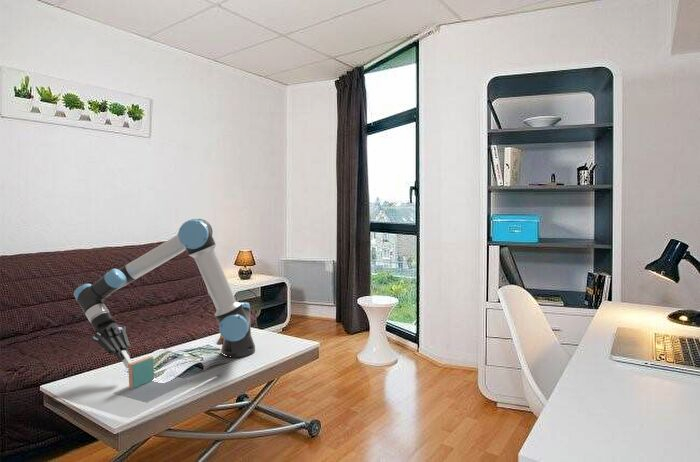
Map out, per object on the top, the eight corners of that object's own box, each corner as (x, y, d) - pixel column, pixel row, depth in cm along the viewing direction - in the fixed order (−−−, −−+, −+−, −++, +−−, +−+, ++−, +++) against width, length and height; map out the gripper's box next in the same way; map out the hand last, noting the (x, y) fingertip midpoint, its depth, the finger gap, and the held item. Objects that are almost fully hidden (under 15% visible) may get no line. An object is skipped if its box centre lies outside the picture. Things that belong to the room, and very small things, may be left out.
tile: (129, 387, 157) (128, 363, 157) (150, 378, 165) (149, 356, 165) (133, 388, 156) (132, 364, 156) (154, 379, 164) (153, 356, 164)
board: (112, 395, 153) (112, 393, 153) (159, 375, 171) (159, 373, 171) (147, 405, 145) (146, 402, 145) (192, 383, 163) (192, 380, 163)
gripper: (111, 320, 177) (140, 365, 170) (79, 328, 165) (109, 377, 158) (119, 308, 174) (149, 354, 167) (87, 315, 162) (118, 365, 156)
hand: (129, 365), depth 163 cm, fingers closed
